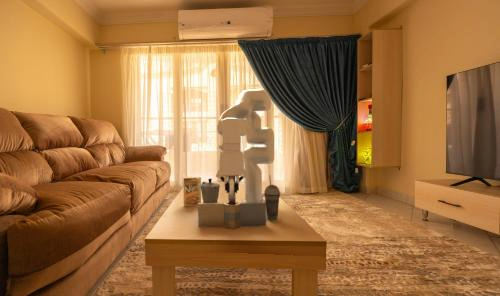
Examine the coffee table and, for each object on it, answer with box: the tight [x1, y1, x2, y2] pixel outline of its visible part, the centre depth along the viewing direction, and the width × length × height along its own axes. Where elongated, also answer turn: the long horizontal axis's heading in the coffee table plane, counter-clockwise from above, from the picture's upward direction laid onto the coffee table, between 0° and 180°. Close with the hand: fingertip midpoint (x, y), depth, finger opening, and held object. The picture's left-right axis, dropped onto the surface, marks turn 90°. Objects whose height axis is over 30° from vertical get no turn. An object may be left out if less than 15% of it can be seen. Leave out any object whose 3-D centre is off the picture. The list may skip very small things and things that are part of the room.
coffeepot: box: [201, 178, 221, 203], centre depth 126 cm, size 15×9×18 cm, turn 33°
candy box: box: [182, 176, 202, 207], centre depth 148 cm, size 9×4×15 cm, turn 87°
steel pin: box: [227, 176, 237, 203], centre depth 112 cm, size 3×3×12 cm
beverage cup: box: [263, 174, 281, 222], centre depth 121 cm, size 7×7×20 cm
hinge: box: [197, 201, 267, 230], centre depth 112 cm, size 28×7×10 cm, turn 92°
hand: (231, 192), depth 112 cm, fingers closed on steel pin, 3 cm apart
